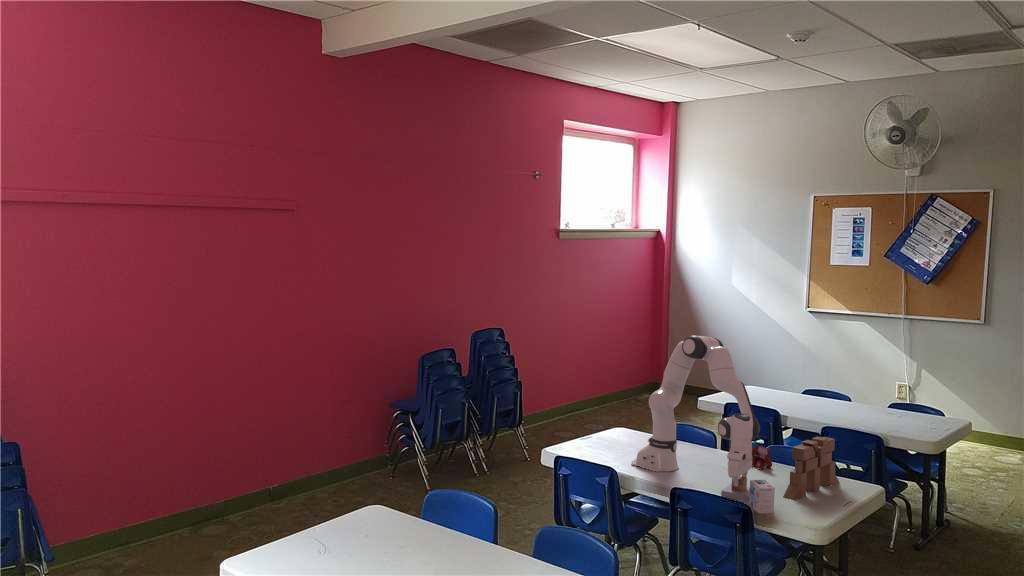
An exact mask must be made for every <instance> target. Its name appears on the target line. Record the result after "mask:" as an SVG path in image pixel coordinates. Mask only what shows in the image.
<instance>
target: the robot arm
mask: <svg viewBox="0 0 1024 576" xmlns="http://www.w3.org/2000/svg"><path fill="white" fill-rule="evenodd" d="M696 360H699V361H700V360H702V361H705V362H707V367H708V372H709V373H708V374H709V378H710V382H711V384H712V386H714V388H715V389H717V390H719V391H721V392H724V393H727V394H729V395H731V396H732V397H734V398H735V400H736V401H737V404H738V407H739V410H740V412H739V413H734V414H733V415H732V416H730V417H724V418H723V417H722V418H721V419H720V420H719V422H718V425H717V433H718V435H719V436H720V437H721V438H722V439H724V440H730V441H731V442H730V448H729V451H728V452H727V457H726V458H727V460H728V461H727V475H728V477H729V478H731V479H732V478H733V481H734V486H736V487H737V486H739V482H738V479H739V476H740V477H745V478H747V475H748V474H749V473H748V472H749V470H750V469H752V467H753V466H752V449H753V443H752V440H755V439H756V438H757V436H758V435H759V433H760V431H761V426H760V423H759V421H758V419H757V417H756V415H755V413H754V408H753V406H752V403H751V401H750V398H749V394H748V391H747V389H746V387H745V384H744V383H743V381H741V380H740V379H739V378H738V376H737V374H736V371H735V366H734V361H733V358H732V356H731V353H730V351H729V349H728V348H727V347H725V346H724V344H723V342H722V341H721V340H720V339H718V338H717V337H710V336H707V335H695V334H694V335H689V336H687V337H685V338H684V339H683V340H681V341H680V342H678V343H677V345H676V346H675V348H674V349H673V351H672V353H671V356H670V357H669V359H668V362H667V364H666V367H665V368H664V371H663V378H662V382H661V385H660V387H659V389H657V390H655V391H653V392H652V393H651V395H650V396H649V398H648V407H649V408H650V412H651V416H652V417H651V418H652V436H651V437H649V438H648V439H647V443H648V445H646V446H644V447H643V448H641V449H640V450H638V452H637V455H636V458H635V459H634V460H632V461H631V465H632V464H633V465H637V466H640V467H643V468H642V469H644V468H646V469H645V470H648V469H649V470H648V471H651V470H652V471H651V472H655V471H656V472H658V473H659V472H673V471H678V469H679V465H678V459H677V449H678V447H677V446H678V444H677V443H678V439H677V421H676V419H675V415H674V409H675V408H676V407H677V406H678V405H679V404H680V402H681V400H682V397H683V393H684V389H685V385H686V382H687V380H688V377H689V375H690V373H691V370H692V368H693V365H694V364H695V361H696ZM633 465H632V466H633ZM637 466H636V467H637ZM640 467H639V468H640Z"/></svg>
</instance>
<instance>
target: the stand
mask: <svg viewBox="0 0 1024 576" xmlns="http://www.w3.org/2000/svg"><path fill="white" fill-rule="evenodd" d="M749 494H750V486H747V489H746V490H745V491H744V492H740V491H735V490H732V483H730V484H728V485H727V486H726V487H725V488H723V489H722V490H721V492H720V495H721V497H722V496H725V497H724V498H727V497H729V498H728V499H732V500H737V501H741V500H742V501H741V502H747V503H749Z"/></svg>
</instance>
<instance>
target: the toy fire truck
mask: <svg viewBox="0 0 1024 576" xmlns="http://www.w3.org/2000/svg"><path fill="white" fill-rule="evenodd" d="M770 455H771V449H770V448H767V447H764V446H762V445H759V444H755V445H754V447H752V467H756V468H757V469H758V468H759V469H758V470H762V469H764V467H766V468H767V469H769V468H772V467H773V462H772V460H771V458H770Z"/></svg>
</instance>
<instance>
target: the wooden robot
mask: <svg viewBox="0 0 1024 576" xmlns="http://www.w3.org/2000/svg"><path fill="white" fill-rule="evenodd" d="M801 442H802V443H801V444H798V445H795V446H792V454H791V455H792V459H793V460H794V469H792V470H790V472H789V484H788V486H787V488H786V490H785V492H784V494H783V496H782V498H783V497H785V498H784V499H787V498H788V499H787V500H790V499H791V501H796V500H798V498H799V499H801V498H803V497H806V496H807V491H808V492H811V491H812V493H816V492H818V491H820V486H824V485H825V486H824V487H828V486H830V487H832V486H831V485H833V486H834V485H837V484H840V480H839V479H838V477H837V475H836V461H834V460H832V459H833V452H834V451H835V447H836V443H835V442H836V440H835V438H831V437H827V436H815V437H812V438H811V440H810V439H806V440H803V441H801ZM836 483H837V484H836ZM820 484H821V485H820ZM817 490H818V491H817ZM815 491H816V492H815Z"/></svg>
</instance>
